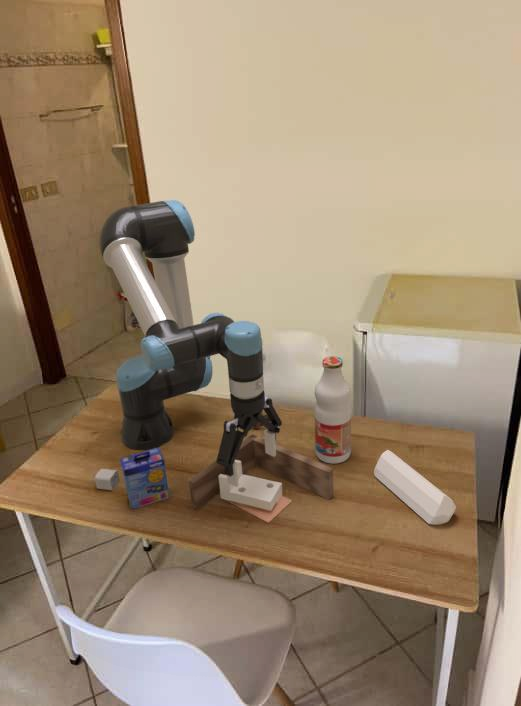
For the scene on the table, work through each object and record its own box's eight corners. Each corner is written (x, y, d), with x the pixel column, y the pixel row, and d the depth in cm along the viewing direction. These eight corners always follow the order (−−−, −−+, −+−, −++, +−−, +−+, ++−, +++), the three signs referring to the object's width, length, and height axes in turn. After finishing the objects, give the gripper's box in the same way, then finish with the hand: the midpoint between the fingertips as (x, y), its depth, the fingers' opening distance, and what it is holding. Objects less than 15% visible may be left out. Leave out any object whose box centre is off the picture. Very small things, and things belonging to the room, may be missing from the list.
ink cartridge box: (131, 511, 132) (121, 462, 126) (127, 497, 137) (116, 449, 131) (171, 498, 136) (163, 449, 129) (165, 485, 140) (157, 438, 134)
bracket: (221, 501, 133) (218, 476, 130) (234, 483, 139) (231, 458, 136) (271, 513, 128) (269, 488, 125) (282, 494, 134) (280, 469, 131)
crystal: (363, 462, 138) (430, 522, 118) (383, 443, 138) (454, 498, 119) (374, 478, 142) (441, 538, 122) (394, 459, 143) (464, 515, 123)
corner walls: (192, 507, 132) (188, 480, 129) (254, 459, 148) (252, 434, 144) (273, 554, 117) (271, 525, 114) (333, 495, 133) (333, 468, 129)
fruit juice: (357, 459, 145) (358, 364, 133) (324, 468, 142) (323, 372, 130) (340, 440, 153) (340, 349, 141) (309, 448, 151) (307, 356, 138)
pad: (220, 497, 135) (220, 496, 135) (245, 478, 141) (245, 477, 141) (268, 523, 126) (268, 522, 126) (292, 501, 132) (292, 500, 132)
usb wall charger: (112, 491, 139) (109, 479, 138) (88, 488, 141) (85, 476, 139) (120, 481, 143) (117, 469, 141) (96, 478, 145) (93, 466, 143)
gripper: (220, 423, 110) (228, 505, 119) (295, 372, 126) (297, 448, 136) (193, 411, 114) (203, 491, 124) (269, 364, 131) (273, 437, 140)
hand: (252, 468), depth 130 cm, fingers open, 13 cm apart
